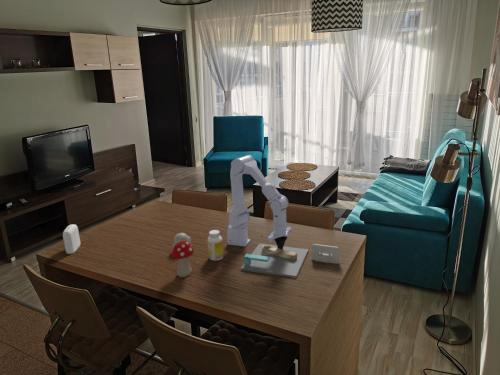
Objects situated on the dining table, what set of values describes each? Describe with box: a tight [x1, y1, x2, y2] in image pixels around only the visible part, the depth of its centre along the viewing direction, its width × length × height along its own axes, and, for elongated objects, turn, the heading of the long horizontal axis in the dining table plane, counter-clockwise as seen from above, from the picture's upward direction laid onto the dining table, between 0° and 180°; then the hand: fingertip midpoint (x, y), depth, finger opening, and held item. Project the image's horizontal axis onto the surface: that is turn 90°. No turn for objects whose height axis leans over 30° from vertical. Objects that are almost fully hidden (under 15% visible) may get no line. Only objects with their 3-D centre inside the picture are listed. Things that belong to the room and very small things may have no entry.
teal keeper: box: [243, 253, 270, 265], centre depth 167 cm, size 10×3×5 cm, turn 70°
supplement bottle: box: [207, 229, 224, 262], centre depth 176 cm, size 7×7×13 cm
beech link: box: [262, 244, 297, 260], centre depth 175 cm, size 17×4×3 cm, turn 56°
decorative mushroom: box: [170, 241, 195, 278], centre depth 162 cm, size 10×9×15 cm
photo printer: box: [62, 224, 82, 255], centre depth 190 cm, size 10×4×12 cm, turn 2°
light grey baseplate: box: [240, 243, 309, 279], centre depth 173 cm, size 24×25×1 cm
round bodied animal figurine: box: [171, 232, 192, 250], centre depth 187 cm, size 7×12×8 cm, turn 154°
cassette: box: [311, 243, 341, 265], centre depth 170 cm, size 12×2×8 cm, turn 69°
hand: (280, 250), depth 177 cm, fingers closed, pressing on beech link
